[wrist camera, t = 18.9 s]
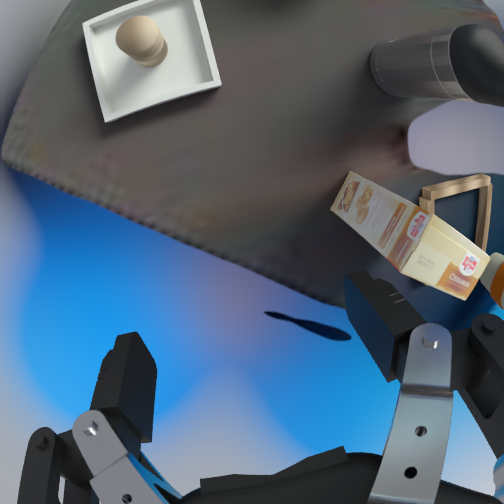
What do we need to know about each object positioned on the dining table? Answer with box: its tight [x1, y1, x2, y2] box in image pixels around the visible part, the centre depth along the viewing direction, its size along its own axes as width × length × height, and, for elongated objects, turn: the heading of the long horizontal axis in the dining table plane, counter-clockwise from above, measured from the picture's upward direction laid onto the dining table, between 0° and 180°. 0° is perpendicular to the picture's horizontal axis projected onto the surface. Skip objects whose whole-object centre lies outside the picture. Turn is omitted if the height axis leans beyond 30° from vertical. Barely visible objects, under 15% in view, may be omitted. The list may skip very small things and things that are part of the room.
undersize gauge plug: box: [115, 16, 168, 67], centre depth 26 cm, size 4×4×9 cm
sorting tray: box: [83, 0, 222, 122], centre depth 30 cm, size 15×15×3 cm
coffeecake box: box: [330, 171, 491, 301], centre depth 37 cm, size 15×7×20 cm, turn 66°
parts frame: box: [419, 174, 492, 286], centre depth 49 cm, size 19×19×2 cm
